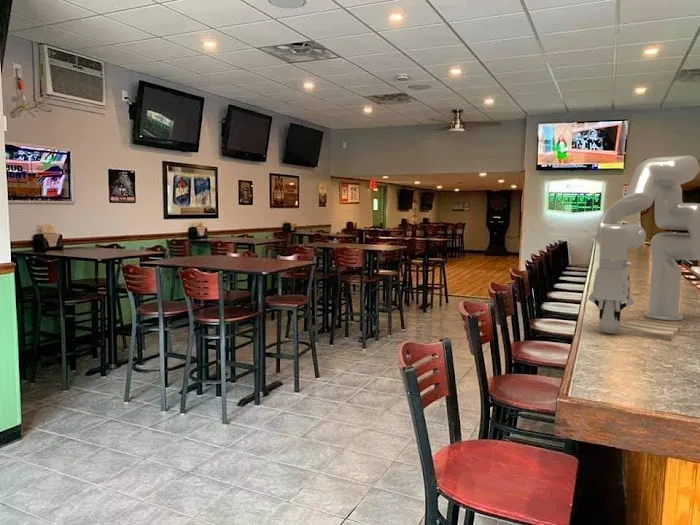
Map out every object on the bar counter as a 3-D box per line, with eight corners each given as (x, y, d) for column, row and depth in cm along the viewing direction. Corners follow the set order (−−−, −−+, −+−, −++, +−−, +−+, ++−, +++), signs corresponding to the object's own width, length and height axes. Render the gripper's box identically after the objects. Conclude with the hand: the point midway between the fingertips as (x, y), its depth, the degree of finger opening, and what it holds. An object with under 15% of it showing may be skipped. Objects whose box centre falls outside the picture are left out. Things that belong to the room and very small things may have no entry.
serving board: (629, 324, 183) (629, 319, 183) (679, 330, 174) (680, 326, 174) (616, 332, 170) (616, 328, 170) (669, 340, 160) (670, 335, 160)
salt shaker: (621, 334, 165) (623, 293, 163) (601, 333, 166) (604, 292, 164) (616, 329, 170) (618, 290, 169) (597, 329, 171) (599, 289, 170)
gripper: (644, 265, 163) (640, 323, 165) (588, 262, 174) (585, 316, 176) (638, 267, 158) (635, 328, 160) (581, 264, 168) (578, 320, 170)
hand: (609, 321), depth 168 cm, fingers closed on salt shaker, 3 cm apart
